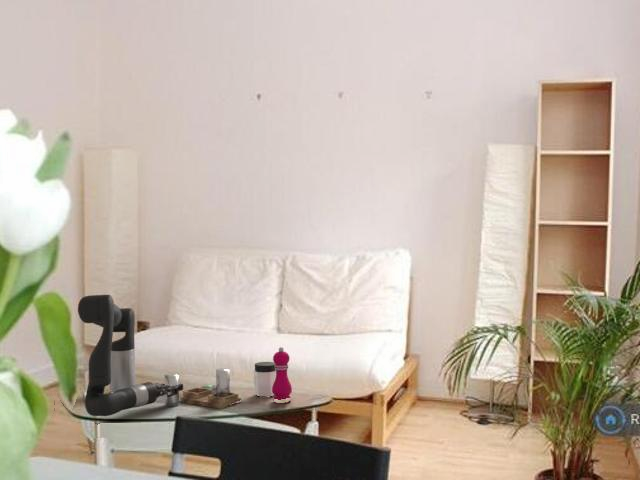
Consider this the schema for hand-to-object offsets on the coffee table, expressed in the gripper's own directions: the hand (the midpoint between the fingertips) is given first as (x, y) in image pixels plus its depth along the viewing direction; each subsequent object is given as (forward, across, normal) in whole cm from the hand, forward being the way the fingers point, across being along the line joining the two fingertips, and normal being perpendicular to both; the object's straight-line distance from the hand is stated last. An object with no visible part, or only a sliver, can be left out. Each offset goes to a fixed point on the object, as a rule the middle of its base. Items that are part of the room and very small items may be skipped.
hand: (177, 385), depth 261 cm
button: (+17, +1, +6) cm, 18 cm away
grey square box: (+17, +1, +6) cm, 18 cm away
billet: (-3, 0, +6) cm, 7 cm away
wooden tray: (+8, -9, +6) cm, 14 cm away
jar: (+27, -19, +7) cm, 34 cm away
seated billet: (+8, -15, +5) cm, 18 cm away
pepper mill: (+22, -31, +7) cm, 39 cm away
